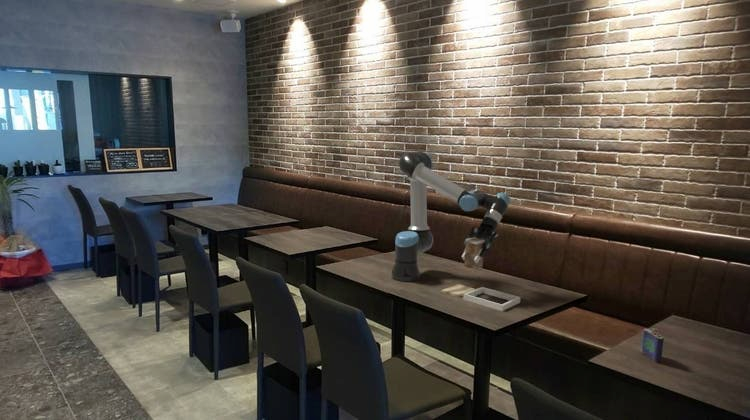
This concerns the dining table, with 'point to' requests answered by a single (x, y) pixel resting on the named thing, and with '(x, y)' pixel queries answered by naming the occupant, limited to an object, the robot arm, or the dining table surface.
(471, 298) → the white rectangular frame
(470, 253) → the canister
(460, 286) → the board
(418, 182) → the robot arm
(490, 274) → the dining table surface
